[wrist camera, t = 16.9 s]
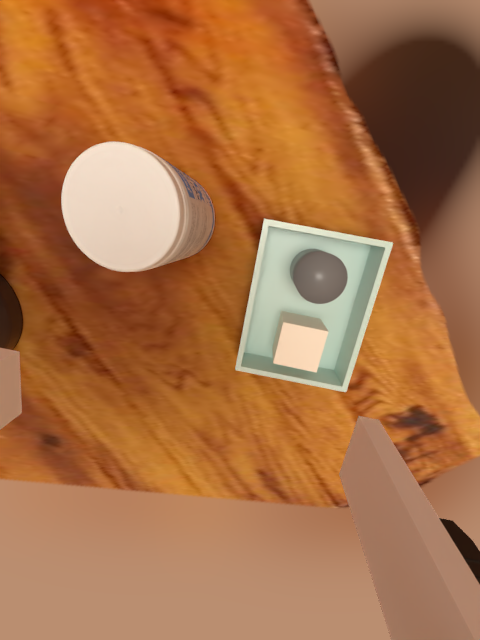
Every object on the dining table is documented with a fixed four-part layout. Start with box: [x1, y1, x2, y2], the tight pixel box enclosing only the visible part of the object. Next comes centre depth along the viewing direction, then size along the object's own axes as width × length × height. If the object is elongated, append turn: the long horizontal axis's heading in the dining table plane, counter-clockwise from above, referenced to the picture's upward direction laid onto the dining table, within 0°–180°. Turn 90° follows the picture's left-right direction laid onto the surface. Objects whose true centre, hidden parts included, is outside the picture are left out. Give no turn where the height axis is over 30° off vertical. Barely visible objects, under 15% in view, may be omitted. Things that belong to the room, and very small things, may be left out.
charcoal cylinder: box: [290, 249, 348, 304], centre depth 33 cm, size 5×5×7 cm
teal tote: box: [235, 219, 393, 392], centre depth 36 cm, size 13×17×5 cm
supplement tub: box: [61, 142, 215, 272], centre depth 30 cm, size 10×10×15 cm
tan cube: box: [272, 311, 329, 373], centre depth 37 cm, size 5×5×5 cm
